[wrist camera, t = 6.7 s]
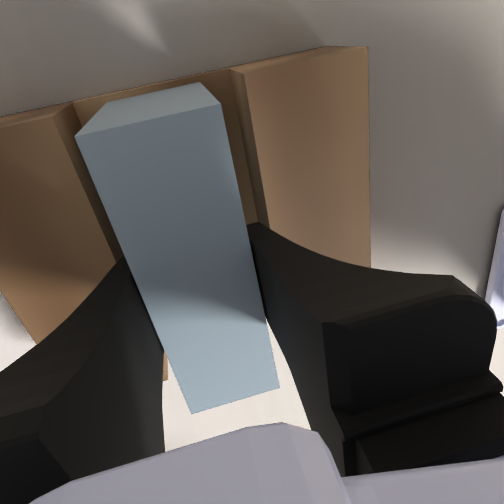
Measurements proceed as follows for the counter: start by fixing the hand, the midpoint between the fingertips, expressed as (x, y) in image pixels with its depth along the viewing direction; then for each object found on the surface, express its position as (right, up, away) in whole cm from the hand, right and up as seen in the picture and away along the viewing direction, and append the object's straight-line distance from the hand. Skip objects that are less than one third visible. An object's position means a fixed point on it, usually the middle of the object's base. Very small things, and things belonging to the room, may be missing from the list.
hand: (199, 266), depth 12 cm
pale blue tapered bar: (-1, +2, +3) cm, 3 cm away
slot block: (-1, +2, +3) cm, 4 cm away
